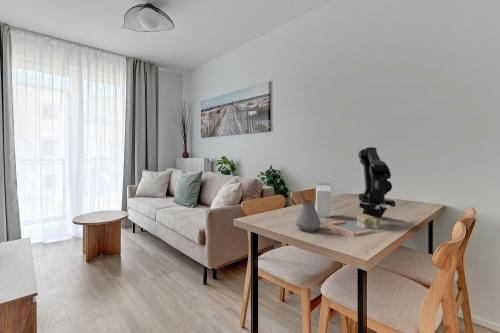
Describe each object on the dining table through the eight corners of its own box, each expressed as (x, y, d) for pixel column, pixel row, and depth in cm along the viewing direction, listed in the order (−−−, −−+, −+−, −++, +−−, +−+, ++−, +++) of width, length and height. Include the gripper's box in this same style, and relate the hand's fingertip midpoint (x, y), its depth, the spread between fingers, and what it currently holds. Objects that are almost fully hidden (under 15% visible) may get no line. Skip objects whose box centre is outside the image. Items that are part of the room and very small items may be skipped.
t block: (363, 221, 122) (363, 214, 122) (381, 227, 113) (382, 218, 113) (351, 223, 118) (352, 215, 118) (369, 229, 109) (370, 220, 109)
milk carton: (330, 218, 131) (330, 183, 130) (316, 218, 132) (317, 183, 131) (328, 215, 138) (329, 182, 137) (315, 214, 139) (316, 181, 138)
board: (356, 221, 126) (356, 218, 125) (390, 232, 109) (390, 227, 109) (325, 227, 116) (325, 222, 116) (356, 239, 100) (356, 234, 100)
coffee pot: (324, 232, 108) (325, 199, 107) (298, 232, 108) (299, 199, 107) (311, 219, 130) (311, 191, 129) (289, 219, 129) (289, 191, 128)
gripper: (376, 186, 129) (375, 215, 130) (350, 188, 121) (349, 219, 122) (396, 189, 119) (395, 221, 120) (370, 191, 111) (369, 225, 112)
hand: (377, 221), depth 119 cm, fingers closed
